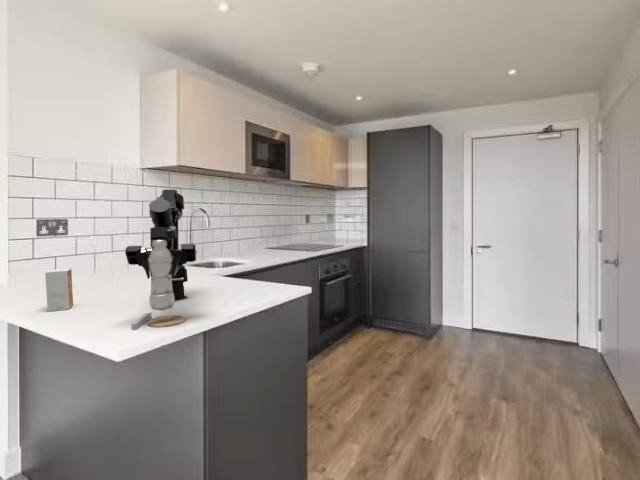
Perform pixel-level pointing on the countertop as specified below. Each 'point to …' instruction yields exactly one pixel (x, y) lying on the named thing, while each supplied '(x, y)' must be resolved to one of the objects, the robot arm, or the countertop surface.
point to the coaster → (166, 321)
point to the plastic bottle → (161, 276)
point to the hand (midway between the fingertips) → (160, 277)
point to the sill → (141, 321)
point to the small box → (59, 289)
